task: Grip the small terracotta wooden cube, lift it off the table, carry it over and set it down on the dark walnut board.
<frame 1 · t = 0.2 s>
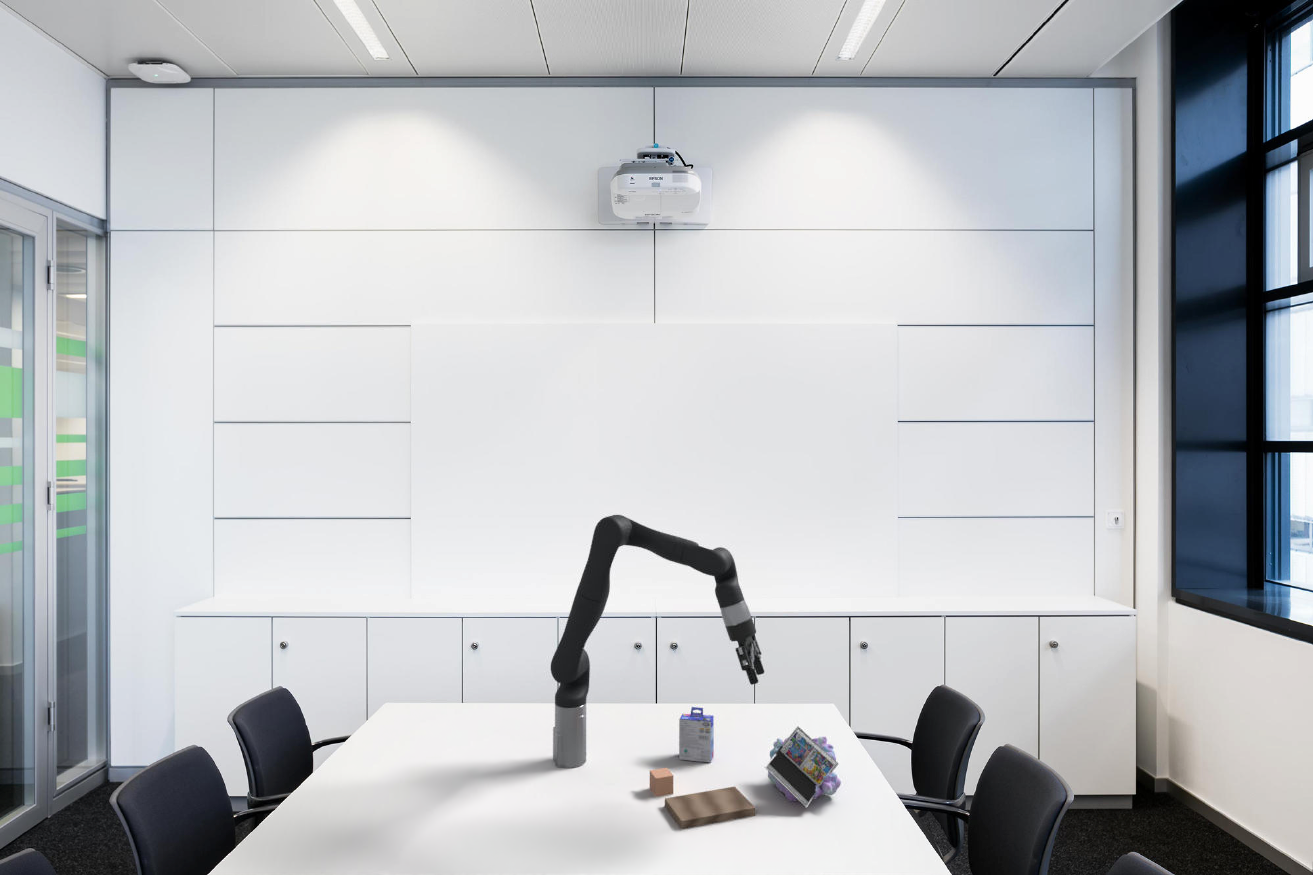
hand: (757, 678, 199), 31 cm above the table, fingers open, 8 cm apart
lumpy iridescent figurine: (803, 792, 201), on the table
walnut board: (709, 810, 190), on the table
ink cartridge box: (696, 758, 222), on the table
terracotta cube: (661, 791, 201), on the table
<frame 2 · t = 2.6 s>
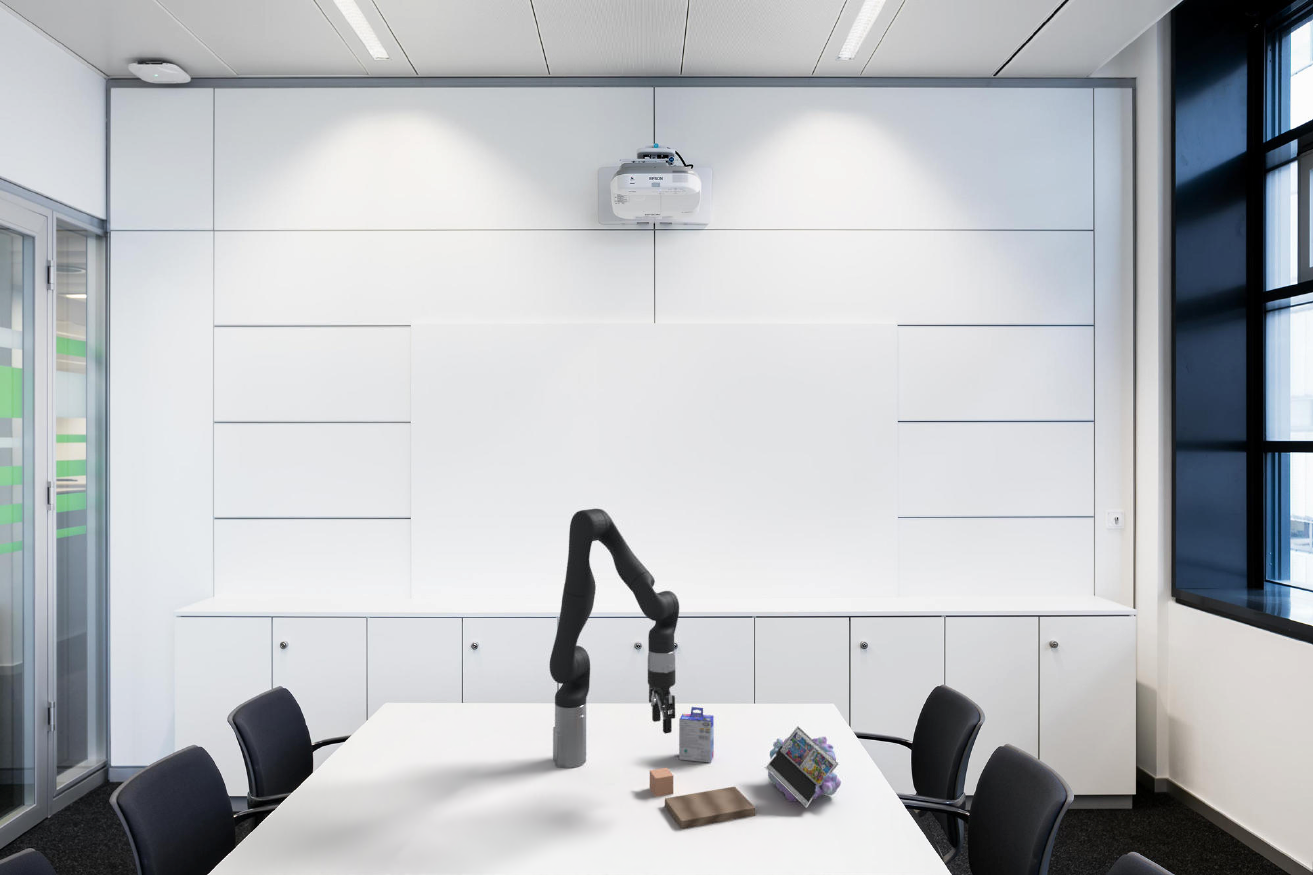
hand: (661, 726, 201), 17 cm above the table, fingers open, 8 cm apart
nothing on the table moved.
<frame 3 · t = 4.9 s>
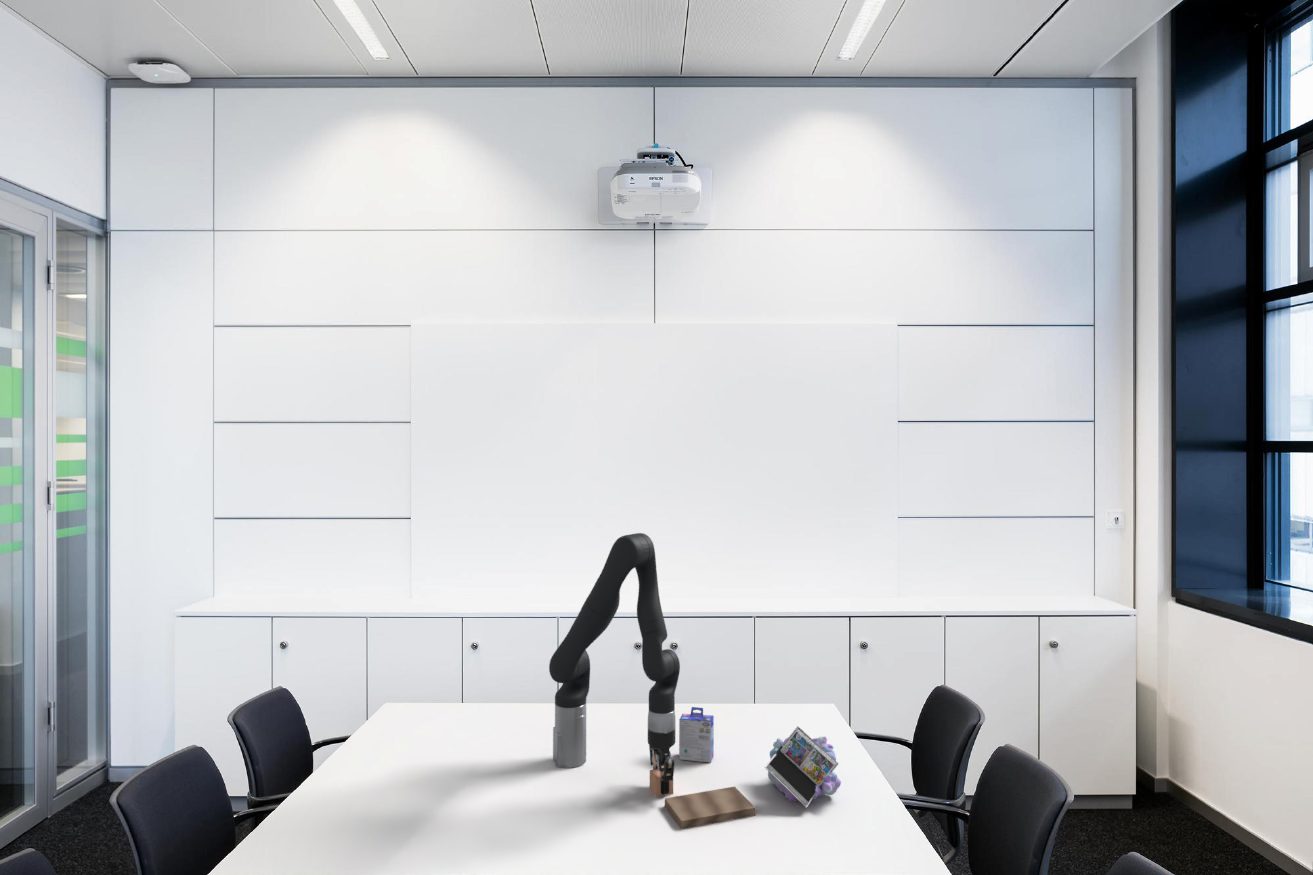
hand: (661, 788, 201), 1 cm above the table, fingers closed on terracotta cube, 5 cm apart
terracotta cube: (661, 791, 201), on the table, touching gripper
everything else where it was.
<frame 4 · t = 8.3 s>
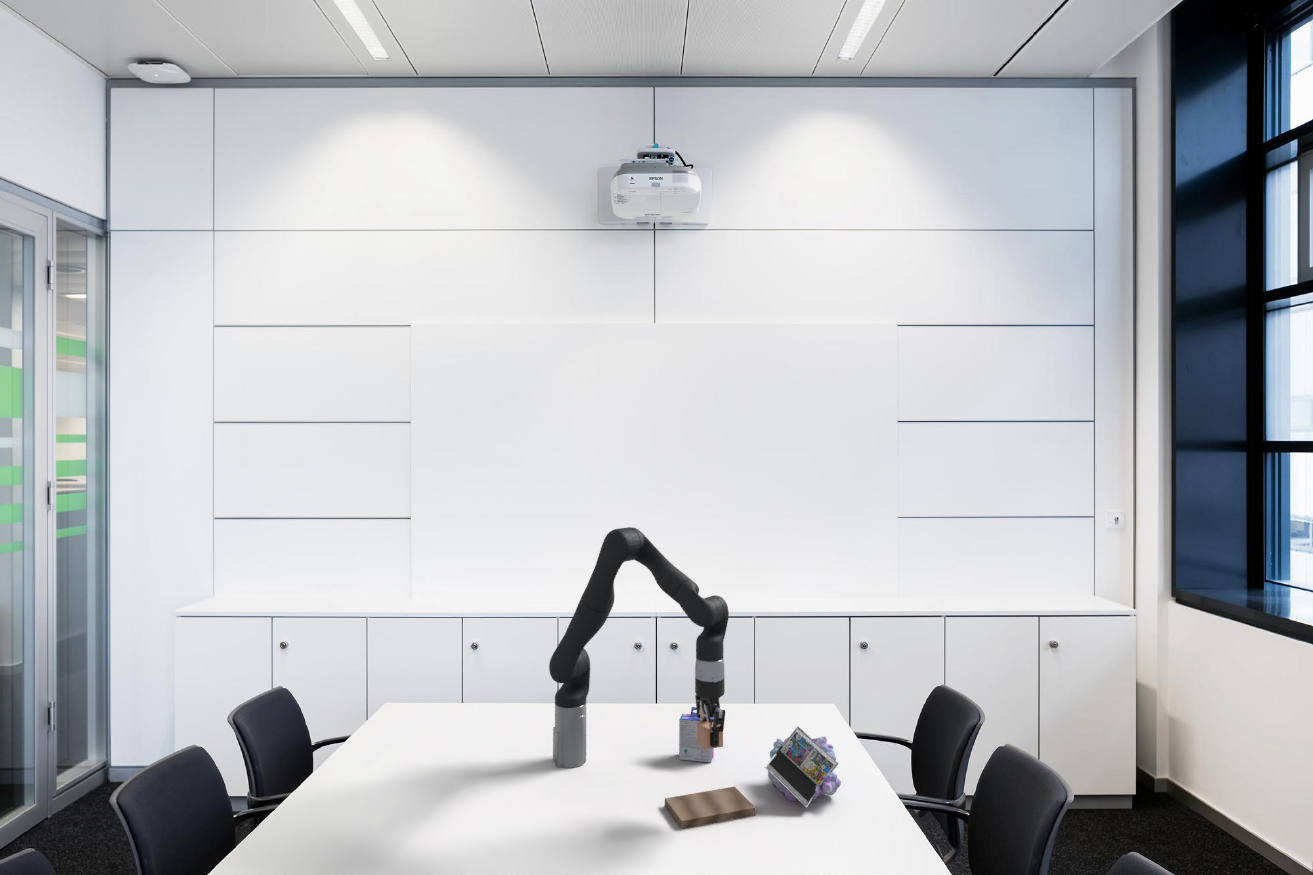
hand: (709, 741, 190), 18 cm above the table, fingers closed on terracotta cube, 5 cm apart
terracotta cube: (710, 744, 190), point 17 cm above the table, touching gripper
everything else where it was.
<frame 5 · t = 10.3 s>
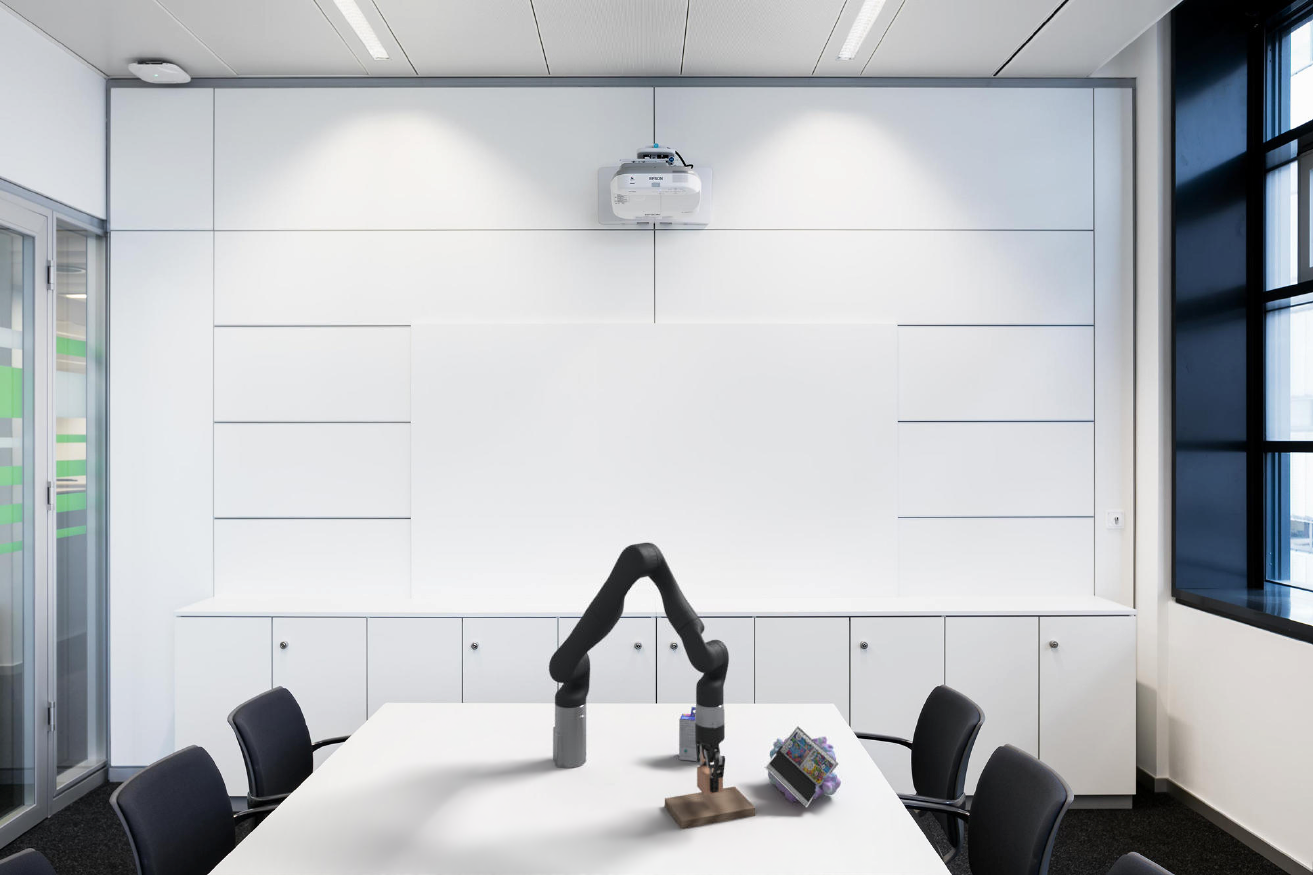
hand: (709, 786, 190), 6 cm above the table, fingers closed on terracotta cube, 5 cm apart
terracotta cube: (709, 789, 190), point 6 cm above the table, touching gripper
everything else where it was.
when the fingers open (4 cm above the table, at t = 11.7 s): terracotta cube drops 1 cm, resting on walnut board.
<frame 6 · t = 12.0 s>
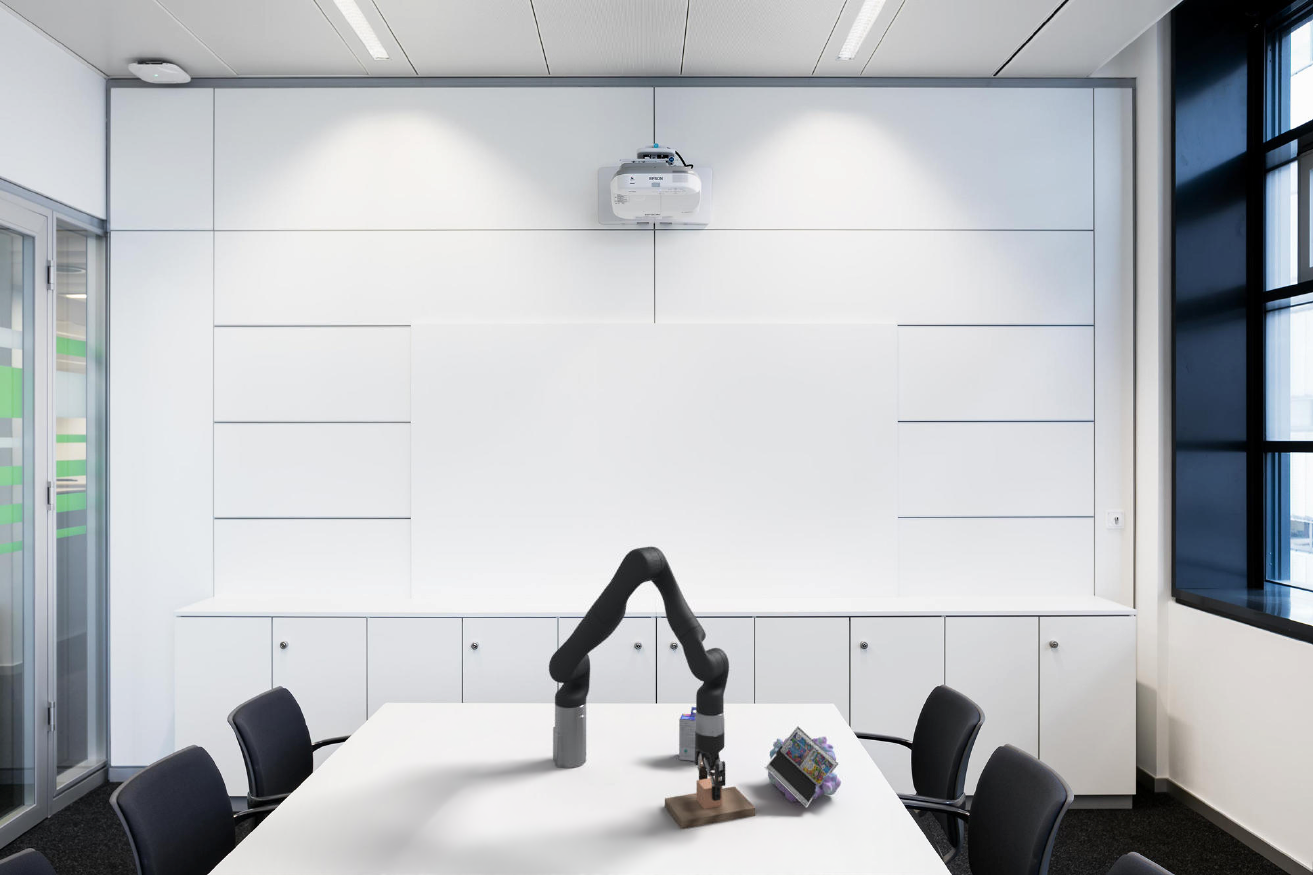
hand: (709, 792, 190), 5 cm above the table, fingers open, 8 cm apart
terracotta cube: (709, 802, 191), point 2 cm above the table, touching walnut board
everything else where it was.
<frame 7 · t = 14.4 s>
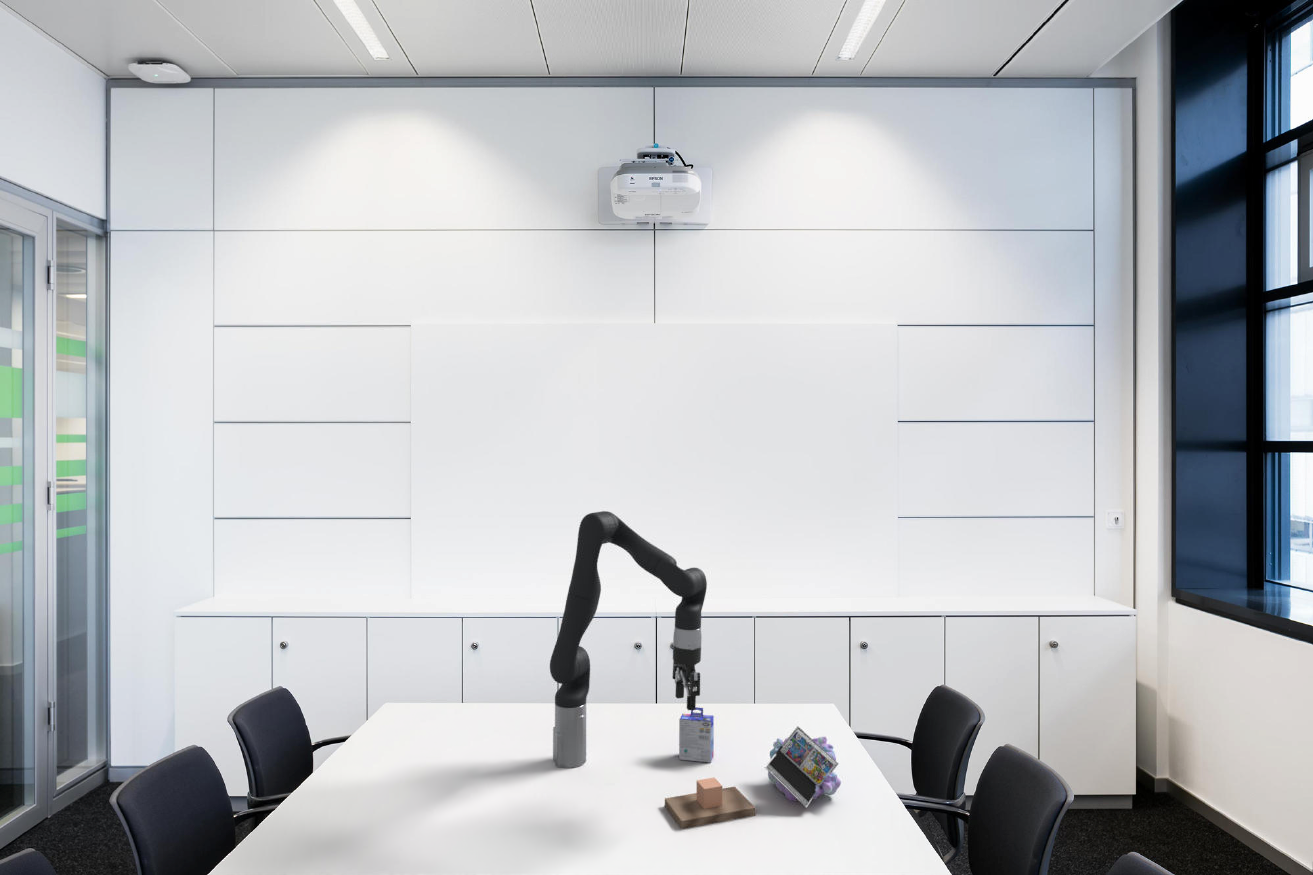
hand: (685, 703, 199), 24 cm above the table, fingers open, 8 cm apart
nothing on the table moved.
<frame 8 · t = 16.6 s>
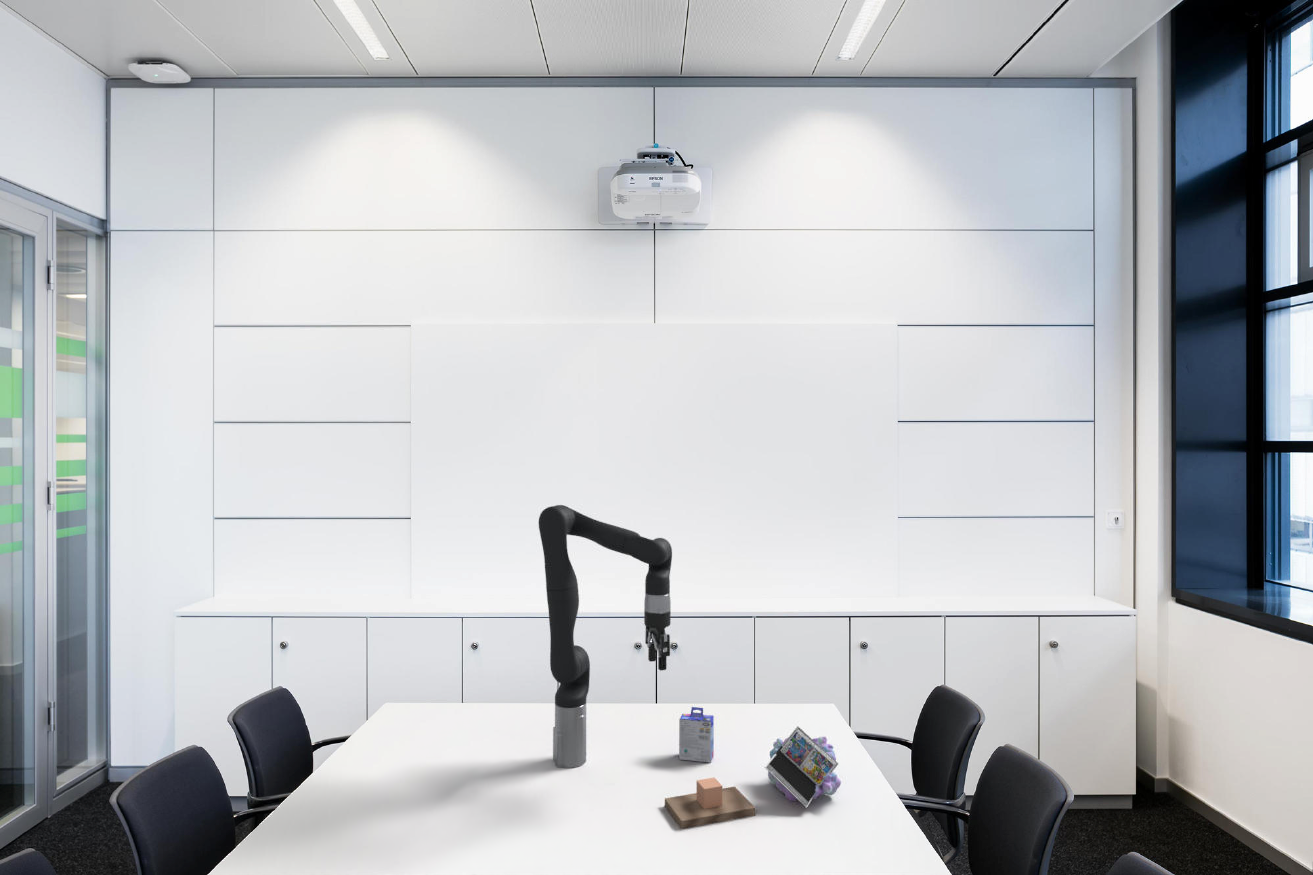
hand: (657, 665, 213), 30 cm above the table, fingers open, 8 cm apart
nothing on the table moved.
at the end: terracotta cube inside the target area on the walnut board (0.2 cm from its centre), point 2.0 cm above the walnut board's base; terracotta cube tilted 0°; the gripper is holding nothing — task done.
